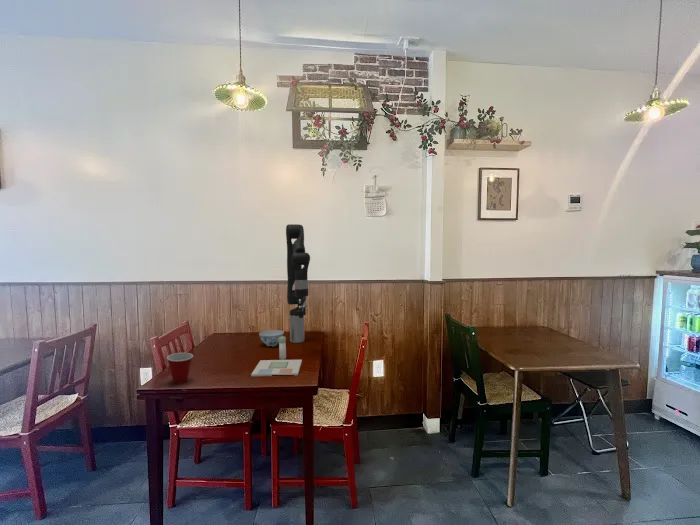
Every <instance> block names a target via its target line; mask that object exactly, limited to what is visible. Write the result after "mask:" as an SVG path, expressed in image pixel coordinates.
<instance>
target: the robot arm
mask: <svg viewBox="0 0 700 525" xmlns="http://www.w3.org/2000/svg"><path fill="white" fill-rule="evenodd" d="M285 237H286V253H287V254H286V270H287V271H286V273H287V287H286V290H287V291H286V292H287V293H286V299H287V304H288V305H291V306H292V305H297V306H296V307H294V308H293V309H291V310H289V340H290V343H294V344H295V343H296V344H297V343H303V342H305V316H306V315H307V314H306V313H307V312H306V309H307V297H308V296H309V281H308V280H309V279H308V270H309V266H310V265H309V264H310V262H311V256H310V254H309V253H308V252H306V247H305V230H304V226H303V225H302V224H298V223H297V224H289V223H288V224H287V225H286V226H285ZM293 240H294V241H293ZM293 288H294V289H293Z"/></svg>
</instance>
